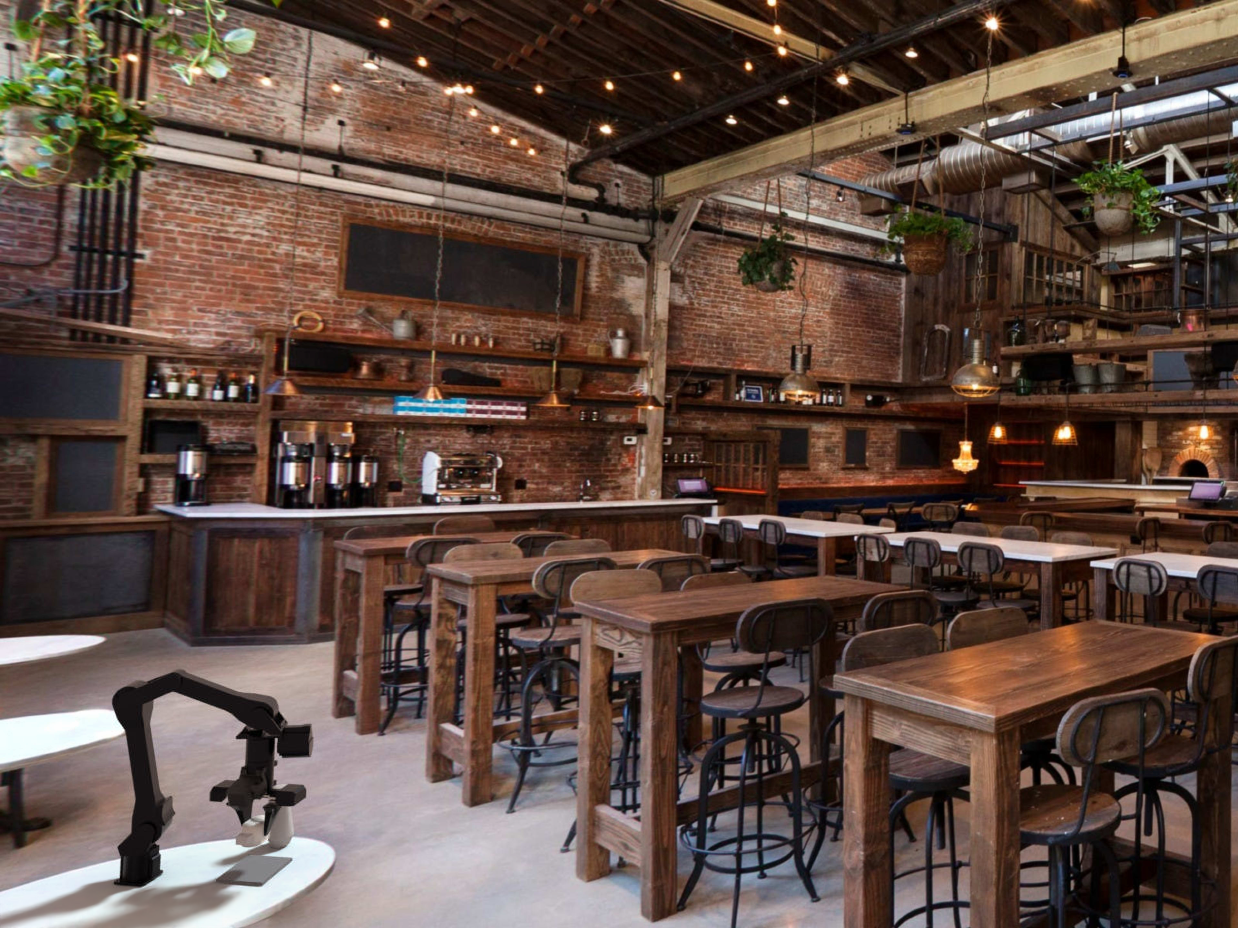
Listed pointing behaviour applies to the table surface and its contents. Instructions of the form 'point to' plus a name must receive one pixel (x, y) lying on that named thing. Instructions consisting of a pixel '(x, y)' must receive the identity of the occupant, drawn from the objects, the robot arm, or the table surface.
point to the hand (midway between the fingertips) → (256, 834)
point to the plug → (252, 832)
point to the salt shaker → (281, 826)
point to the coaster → (254, 870)
